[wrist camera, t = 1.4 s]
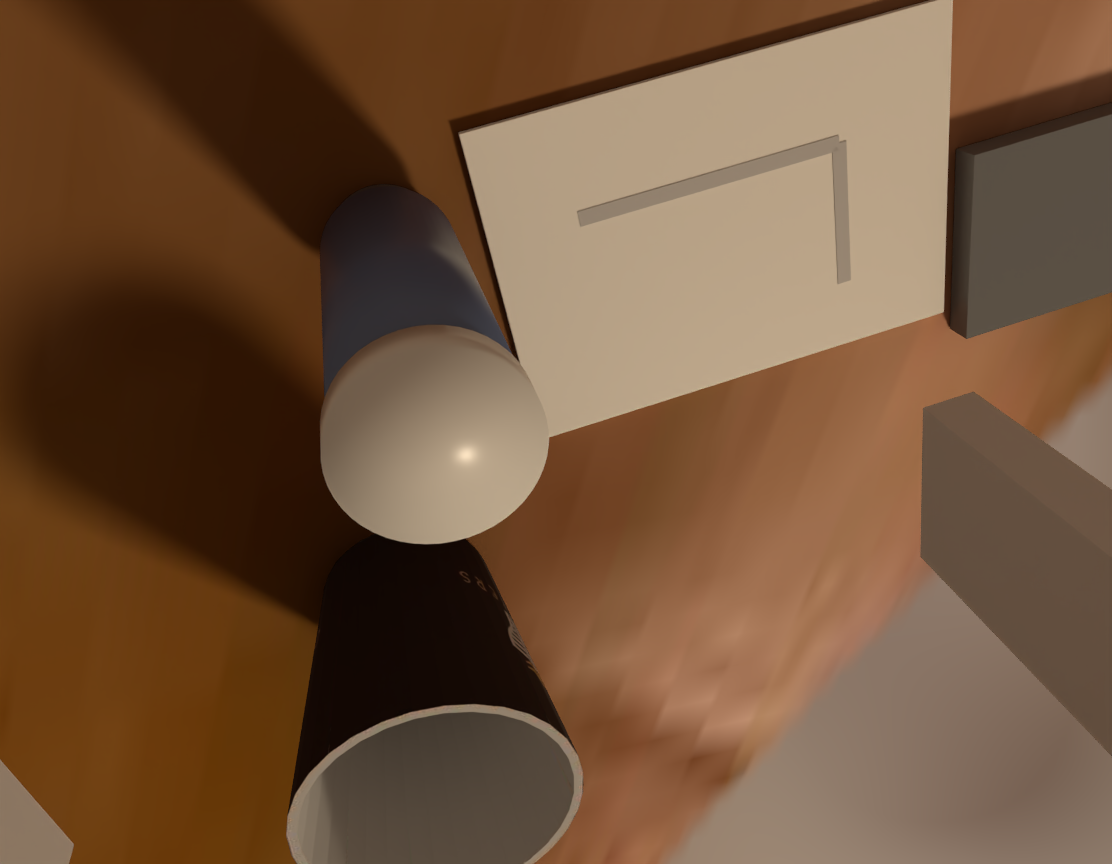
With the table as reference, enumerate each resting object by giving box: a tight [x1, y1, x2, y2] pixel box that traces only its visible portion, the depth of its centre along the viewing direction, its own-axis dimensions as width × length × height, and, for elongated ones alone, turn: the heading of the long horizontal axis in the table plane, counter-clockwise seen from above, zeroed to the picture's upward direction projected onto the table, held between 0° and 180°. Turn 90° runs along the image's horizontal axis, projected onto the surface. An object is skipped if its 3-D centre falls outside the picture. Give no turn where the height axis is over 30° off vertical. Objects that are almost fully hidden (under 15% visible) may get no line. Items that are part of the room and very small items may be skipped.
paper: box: [458, 0, 953, 437], centre depth 30 cm, size 16×11×1 cm
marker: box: [320, 184, 549, 544], centre depth 22 cm, size 4×4×13 cm
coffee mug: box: [286, 534, 583, 864], centre depth 31 cm, size 12×9×10 cm
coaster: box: [950, 103, 1112, 339], centre depth 32 cm, size 7×7×1 cm
